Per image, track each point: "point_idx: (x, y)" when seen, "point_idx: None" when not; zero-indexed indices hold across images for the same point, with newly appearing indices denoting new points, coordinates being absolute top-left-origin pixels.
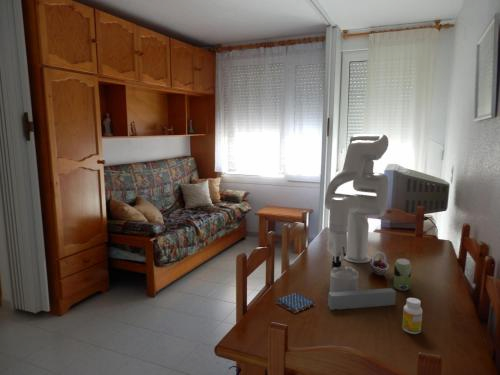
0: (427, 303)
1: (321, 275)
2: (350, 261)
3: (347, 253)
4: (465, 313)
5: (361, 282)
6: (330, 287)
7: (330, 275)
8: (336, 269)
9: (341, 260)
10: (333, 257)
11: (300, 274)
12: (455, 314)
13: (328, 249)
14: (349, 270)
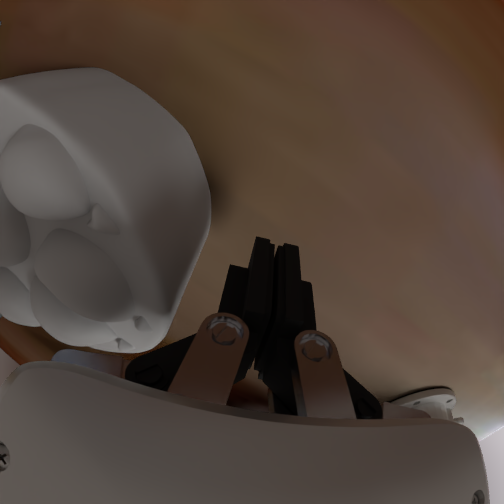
0: (36, 349)
1: (398, 180)
2: (408, 396)
3: (437, 415)
4: (16, 359)
5: (188, 324)
6: (64, 69)
7: (4, 81)
8: (2, 184)
9: (61, 356)
10: (297, 374)
11: (475, 56)
12: (7, 345)
13: (426, 463)
14: (30, 294)
